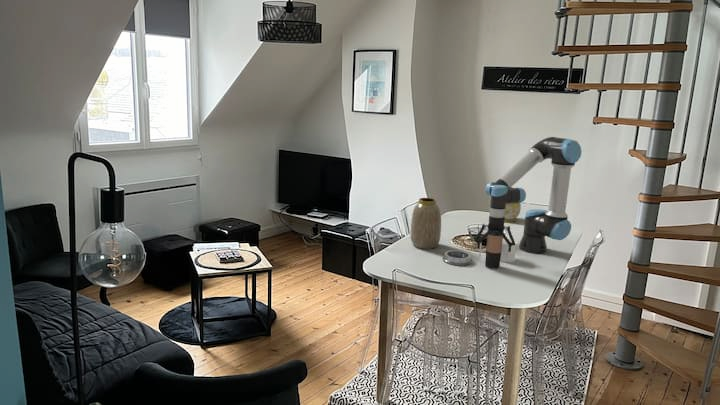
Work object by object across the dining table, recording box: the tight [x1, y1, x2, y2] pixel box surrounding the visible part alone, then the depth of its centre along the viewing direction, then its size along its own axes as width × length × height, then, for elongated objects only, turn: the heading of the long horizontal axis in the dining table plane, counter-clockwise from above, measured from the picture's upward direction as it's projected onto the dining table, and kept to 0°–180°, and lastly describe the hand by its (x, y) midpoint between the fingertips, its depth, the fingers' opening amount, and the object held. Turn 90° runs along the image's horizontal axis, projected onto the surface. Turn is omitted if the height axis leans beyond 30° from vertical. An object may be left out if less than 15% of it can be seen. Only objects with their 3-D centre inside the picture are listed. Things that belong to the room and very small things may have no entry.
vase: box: [410, 197, 442, 250], centre depth 299 cm, size 17×17×27 cm
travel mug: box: [484, 228, 504, 270], centre depth 268 cm, size 8×8×20 cm
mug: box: [500, 238, 517, 264], centre depth 281 cm, size 13×10×10 cm
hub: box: [442, 249, 473, 267], centre depth 277 cm, size 15×15×4 cm
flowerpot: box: [504, 202, 522, 223], centre depth 362 cm, size 18×18×16 cm
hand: (493, 256), depth 269 cm, fingers open, 13 cm apart
